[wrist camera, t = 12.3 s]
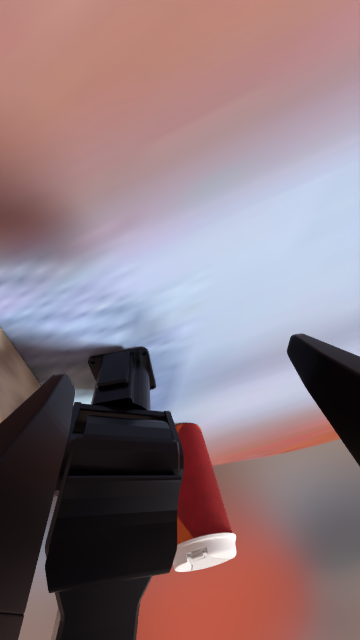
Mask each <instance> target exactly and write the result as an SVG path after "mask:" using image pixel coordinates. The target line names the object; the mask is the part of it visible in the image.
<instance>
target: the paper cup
mask: <svg viewBox="0 0 360 640" xmlns="http://www.w3.org/2000/svg"><path fill="white" fill-rule="evenodd" d="M175 427H176V430H177V433H178V436H179V439H180V441H181V445H182V448H183V455H184V471H183V478H182V483H181V486H180V491H179V499H178V511H177V551H176V554H175V558H174V561H173V565H174V569H175V571H178V572H186V571H194V570H199V569H203V568H207V567H211V566H214V565H217V564H220V563H223V562H225V561H227V560H230V559H231V558H233V557H235V555H236V547H235V540H236V535H235V534H233V533H232V530H231V527H230V524H229V521H228V517H227V514H226V510H225V507H224V504H223V500H222V497H221V494H220V490H219V487H218V484H217V480H216V477H215V474H214V471H213V467H212V464H211V461H210V457H209V454H208V451H207V448H206V444H205V441H204V438H203V435H202V432H201V429H200V427H199V426H198V425H196V424H193V423H183V424H179V425H177V426H175Z"/></svg>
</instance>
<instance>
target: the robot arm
mask: <svg viewBox="0 0 360 640" xmlns="http://www.w3.org/2000/svg"><path fill="white" fill-rule="evenodd" d="M143 352H145V353H143ZM287 354H288V356H289V358H290V360H291V362H292V364H293V366H294V367H295V369H296V371H297V373H298V375H299V376H300V378H301V380H302V382H303V384H304V385H305V387H306V389H307V390H308V392H309V393H310V395H311V396H312V398H313V399H314V401H315V402H316V403H317V405H318V406H319V408H320V409H321V411H322V412H323V414H324V415H325V417H326V418H327V420H328V421H329V422H330V424H331V425H332V427H333V428H334V430H335V431H336V433H337V434H338V436H339V437H340V438H341V440H342V441H343V443H344V444H345V446H346V447H347V449H348V450H349V452H350V453H351V454H352V456H353V457H354V459H355V460H356V462H357V463H358V465H359V466H360V357H359V356H357V355H355V354H352V353H350V352H347V351H345V350H342V349H340V348H337V347H335V346H332V345H330V344H327V343H325V342H322V341H320V340H317V339H315V338H312V337H310V336H307V335H305V334H295V335H292V336H291V337H290V341H289V345H288V348H287ZM93 361H94V362H93ZM88 364H89V367H90V369H91V371H92V373H93V375H94V377H95V380H96V386H95V390H94V394H93V398H92V402H91V405H90V404H81V402H75V403H74V395H75V389H74V386H73V384H72V383H71V381H70V379H69V377H68V375H67V374H65V373H62V374H56V375H53V376H52V377H51V378H50V379H48V380H47V381H46V382H45V383H44V384H43V385H42V386H41V387H40V388H39V389H37V390H36V391H35V392H34V393H33V394H32V395H31V396H30V397H29V398H28V399H26V400H25V401H24V402H23V403H22V404H21V405H20V406H19V407H18V408H17V409H15V410H14V411H13V412H12V413H11V414H10V415H9V416H8V417H7V418H6V419H4V420H3V421H2V422H1V423H0V640H18V637H19V634H20V629H21V626H22V622H23V618H24V615H23V614H24V612H25V609H26V604H27V601H28V596H29V593H30V588H31V585H32V581H33V577H34V573H35V569H36V565H37V560H38V557H39V553H40V549H41V545H42V540H43V536H44V533H45V529H46V525H47V521H48V517H49V513H50V509H51V504H52V501H53V497H55V496H58V498H57V502H56V506H55V510H54V514H53V517H52V521H51V525H50V529H49V532H48V536H47V540H46V544H45V553H46V557H47V559H46V564H45V571H46V578H47V585H48V591H49V593H54V592H55V595H56V599H57V603H58V611H57V616H56V620H55V625H54V629H53V634H52V638H51V640H136V634H137V624H138V614H139V607H140V601H141V598H142V596H143V595H144V592H145V590H146V588H147V586H148V584H149V582H150V580H151V578H152V576H154V575H160V574H166V573H169V572H170V570H171V567H172V563H173V561H174V558H175V554H176V551H177V511H178V499H179V491H180V486H181V483H182V478H183V471H184V455H183V448H182V445H181V441H180V439H179V436H178V433H177V430H176V427H175V424H174V421H173V419H172V416H171V413H170V411H164V412H161V411H151V410H150V390H151V389H154V388H155V387H156V383H155V379H154V374H153V370H152V365H151V361H150V356H149V352H148V349H146V348H141V349H135V350H129V351H123V352H117V353H110V354H104V355H98V356H92V357H90V358H89V360H88ZM151 385H152V386H151ZM73 403H74V406H73Z"/></svg>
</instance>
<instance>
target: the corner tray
mask: <svg viewBox="0 0 360 640" xmlns="http://www.w3.org/2000/svg"><path fill="white" fill-rule="evenodd" d="M40 387H41V385H40V383H39V382H38V380H37V379H36V377H35V376H34V375H33V373H32V372H31V370H30V369H29V367H28V366H27V364H26V363H25V362H24V360H23V359H22V357H21V356H20V354H19V353H18V351H17V350H16V349H15V347H14V346H13V344H12V343H11V341H10V340H9V338H8V337H7V336H6V334H5V333H4V331H3V330H2V328H1V327H0V423H1V422H2V421H3V420H4V419H6V418H7V417H8V416H9V415H10V414H11V413H12V412H13V411H14V410H15V409H17V408H18V407H19V406H20V405H21V404H22V403H23V402H24V401H25V400H26V399H28V398H29V397H30V396H31V395H32V394H33V393H34V392H35V391H36V390H37V389H39V388H40Z"/></svg>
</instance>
